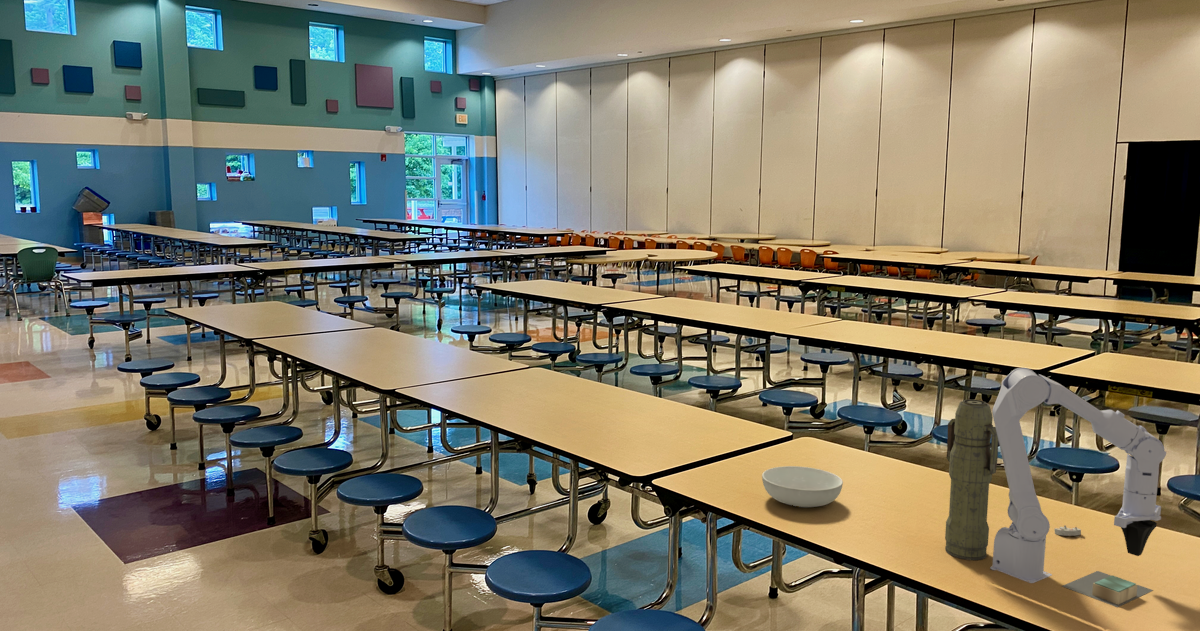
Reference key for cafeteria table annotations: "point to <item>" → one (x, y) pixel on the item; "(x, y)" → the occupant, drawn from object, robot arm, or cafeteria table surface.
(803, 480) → the serving bowl
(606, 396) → the cafeteria table surface
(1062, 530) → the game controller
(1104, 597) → the green-faced wooden block
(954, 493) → the thermos
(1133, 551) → the robot arm
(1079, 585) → the rubber mat
